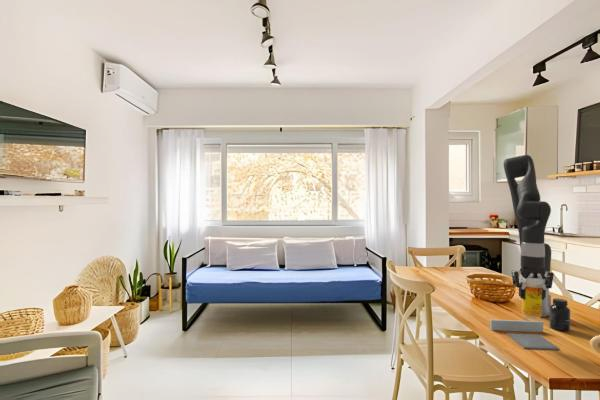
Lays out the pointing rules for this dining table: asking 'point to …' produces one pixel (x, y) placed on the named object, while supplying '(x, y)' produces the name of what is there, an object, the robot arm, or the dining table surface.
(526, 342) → the slate coaster
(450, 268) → the dining table surface
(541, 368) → the dining table surface
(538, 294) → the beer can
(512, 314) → the dining table surface
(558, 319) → the supplement bottle
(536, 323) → the acrylic wall
